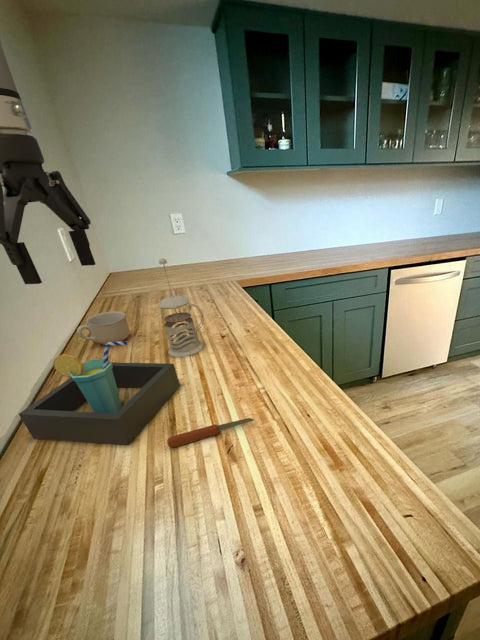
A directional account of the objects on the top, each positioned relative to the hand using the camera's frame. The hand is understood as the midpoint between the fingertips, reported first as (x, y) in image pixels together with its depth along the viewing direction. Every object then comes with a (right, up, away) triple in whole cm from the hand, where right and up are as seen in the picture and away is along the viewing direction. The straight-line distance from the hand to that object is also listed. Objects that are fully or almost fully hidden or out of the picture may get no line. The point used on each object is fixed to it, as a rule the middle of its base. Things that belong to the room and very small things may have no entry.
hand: (63, 273), depth 63 cm
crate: (+4, -26, +9) cm, 28 cm away
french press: (+12, -12, +34) cm, 38 cm away
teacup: (-15, -9, +41) cm, 45 cm away
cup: (+5, -27, +9) cm, 28 cm away
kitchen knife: (+28, -30, -1) cm, 41 cm away
